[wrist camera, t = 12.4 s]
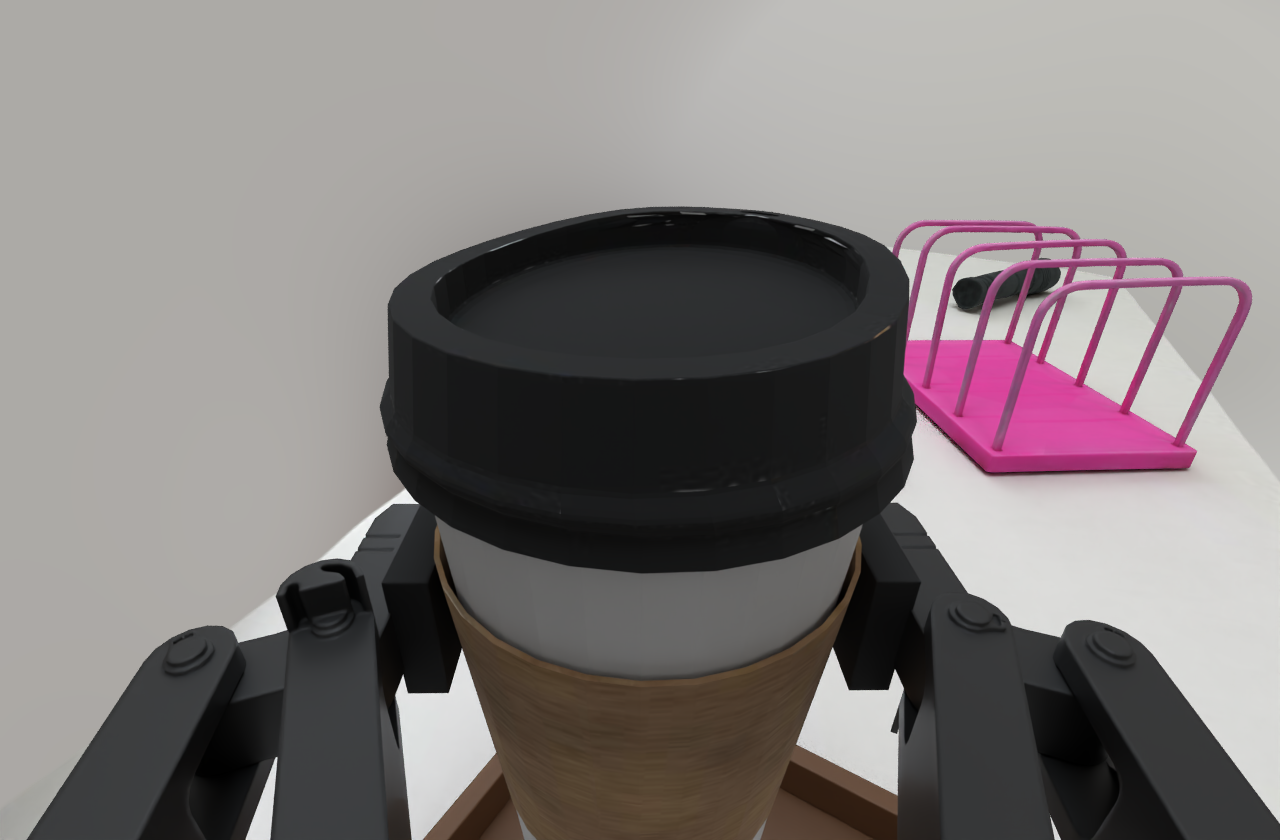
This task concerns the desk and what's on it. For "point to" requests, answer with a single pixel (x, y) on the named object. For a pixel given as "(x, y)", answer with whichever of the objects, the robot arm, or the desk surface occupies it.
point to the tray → (794, 831)
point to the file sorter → (1047, 368)
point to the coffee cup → (650, 495)
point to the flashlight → (976, 288)
